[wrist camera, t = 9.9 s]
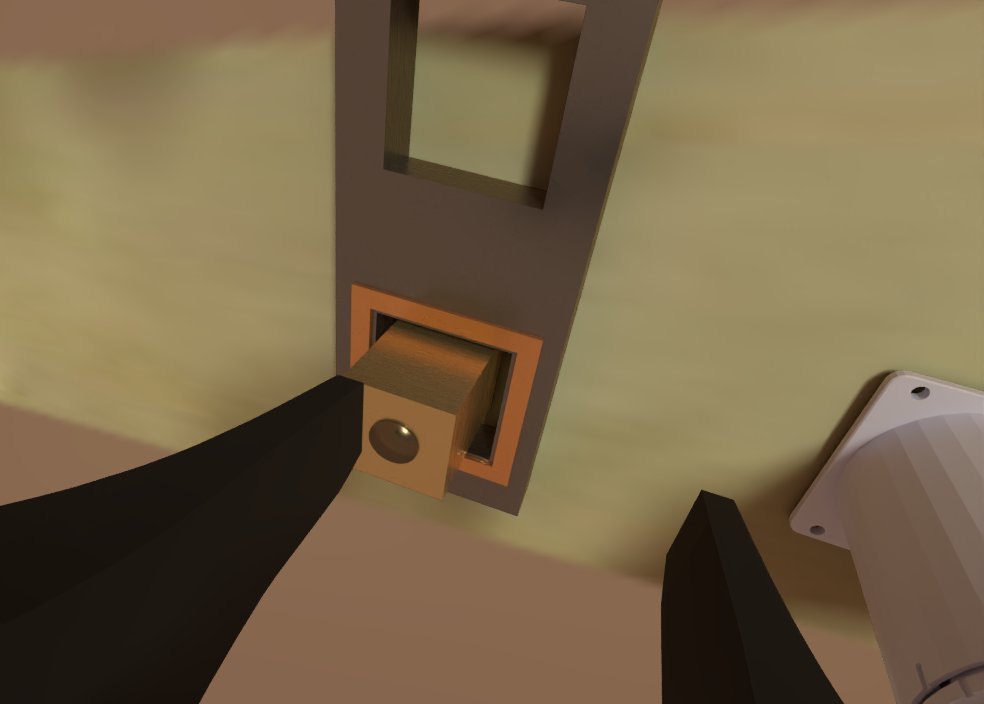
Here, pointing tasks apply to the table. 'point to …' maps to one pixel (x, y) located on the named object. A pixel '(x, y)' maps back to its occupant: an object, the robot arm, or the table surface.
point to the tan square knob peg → (422, 404)
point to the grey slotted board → (475, 221)
